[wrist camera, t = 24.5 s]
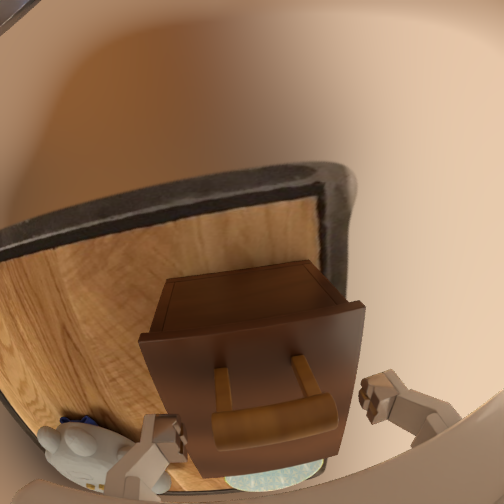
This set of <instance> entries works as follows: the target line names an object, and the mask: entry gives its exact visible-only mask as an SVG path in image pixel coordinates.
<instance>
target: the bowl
mask: <svg viewBox="0 0 504 504" xmlns="http://www.w3.org/2000/svg"><path fill="white" fill-rule="evenodd" d="M322 464H323V459H321V460H317V461H314V462H310V463H306V464H302V465H297V466H293V467H288V468H283V469H278V470H273V471H267V472H261V473H254V474H247V475H239V476H230V477H224V479H225V481H226V483H227V484H228V485H230V486H231V487H233V488H236V489H238V490H243V491H252V492H262V491H271V490H277V489H282V488H286V487H289V486H292V485H295V484H297V483H300V482H302V481H304V480H306V479H307V478H309V477H311V476H312V475H313V474H315V473H316V472H317V471H318V470H319V469H320V468H321V466H322Z"/></svg>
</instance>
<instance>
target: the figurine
mask: <svg viewBox="0 0 504 504" xmlns="http://www.w3.org/2000/svg"><path fill="white" fill-rule="evenodd" d="M60 423H61V425H59V426H58V427H57V429H56V430H55V429H53V428H51V427H48V426H43V427H41V428H40V429H39V430H38V433H37V437H38V441H39V442H40V444H41V445H42V446H43V447H44V448H45V449H46V452H45V456H46V459H47V460H48V462H49V463H50V464H52V465H53V466H54V467H55V468H56V469H57V470H58V471H59V472H60V473H61V474H62V475H64V476H65V477H67V478H68V479H70V480H71V481H74V482H75V483H77V484H79V485H81V486H83V487H86V488H88V489H91V490H94V491H98V492H102V493H103V491H104V486H105V480H106V475H107V472H108V471H109V470H110V469H111V468H112V467H113V466H114V465H115V464H116V463H117V462H118V461H119V460H120V459H121V458H122V457H123V456H124V455H125V454H126V453H127V452H128V451H129V450H130V449H131V448H132V447H133V446H134V445H135V444H136V443H134V442H133V441H131V440H130V439H128V438H126V437H124V436H122V435H120V434H118V433H116V432H113V431H111V430H108V429H105V428H102V427H99V426H98V424H97V423H96V422H95V421H94V420H92V419H91V418H90V417H88V416H85V417H84V418H83V419H82V420H71V421H70V420H69V419H68V418H66V417H61V418H60ZM170 487H171V477H170V475H169V474H168V473H167V472H166V471H164V472H163V474H162V475H161V476H160V478H159V479H158V481H157V482H156V483H155V485H154V486H153V488H152V489H151V490H152V491H153V492H154V493H155V494H160V493H164V492H166V491H168V490H169V489H170Z"/></svg>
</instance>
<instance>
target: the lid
mask: <svg viewBox="0 0 504 504" xmlns="http://www.w3.org/2000/svg"><path fill="white" fill-rule="evenodd" d="M365 310H366V307H365V305H364V304H363V303H362V302H360V301H359V300H358V301H354V302H349V303H344V304H340V305H335V306H330V307H325V308H320V309H315V310H310V311H304V312H299V313H293V314H288V315H282V316H276V317H270V318H264V319H258V320H251V321H245V322H238V323H231V324H223V325H216V326H208V327H200V328H191V329H182V330H173V331H162V332H151V333H141V334H140V337H139V340H138V343H139V346H140V349H141V352H142V354H143V357H144V359H145V362H146V365H147V367H148V370H149V372H150V375H151V377H152V379H153V382H154V384H155V386H156V389H157V391H158V393H159V396H160V398H161V400H162V402H163V404H164V407H165V409H166V411H167V413H168V414H179V415H180V417H181V422H182V423H183V424H184V425H185V427H186V430H187V437H188V443H187V444H186V445H185V447H186V449H187V450H188V454H189V455H190V457H191V459H192V461H193V463H194V464H195V466H196V468H197V469H198V471H199V473H200V474H201V476H202V478H219V477H230V476H239V475H247V474H254V473H261V472H267V471H273V470H278V469H283V468H288V467H293V466H297V465H302V464H306V463H310V462H314V461H317V460H321V459H325V458H328V457H331V456H335V455H338V452H339V448H340V445H341V441H342V437H343V433H344V430H345V426H346V421H347V417H348V413H349V408H350V404H351V399H352V394H353V389H354V384H355V379H356V374H357V368H358V362H359V355H360V349H361V342H362V335H363V327H364V319H365Z"/></svg>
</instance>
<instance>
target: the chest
mask: <svg viewBox="0 0 504 504" xmlns="http://www.w3.org/2000/svg"><path fill="white" fill-rule="evenodd" d="M344 303H349V302H348V301H347V300H346V299H345V298H344V297H343V296H342V294H341V293H340V292H339V291H338V290H337V289H336V288H335V287H334V286H333V285H332V284H331V283H330V282H329V281H328V279H327V278H326V277H325V276H324V275H323V274H322V273H321V272H320V271H319V270H318V269H317V268H316V267H315V266H314V265H313V264H312V263H311V262H310V261H309V260H304V261H297V262H291V263H284V264H277V265H270V266H263V267H256V268H249V269H241V270H234V271H227V272H219V273H212V274H205V275H197V276H189V277H182V278H174V279H167V280H166V283H165V285H164V288H163V291H162V294H161V297H160V300H159V303H158V306H157V309H156V312H155V315H154V318H153V321H152V325H151V328H150V331H149V333H151V332H162V331H173V330H182V329H191V328H200V327H208V326H216V325H223V324H231V323H238V322H245V321H251V320H258V319H264V318H270V317H276V316H282V315H288V314H293V313H299V312H304V311H310V310H315V309H320V308H325V307H330V306H335V305H340V304H344Z"/></svg>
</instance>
